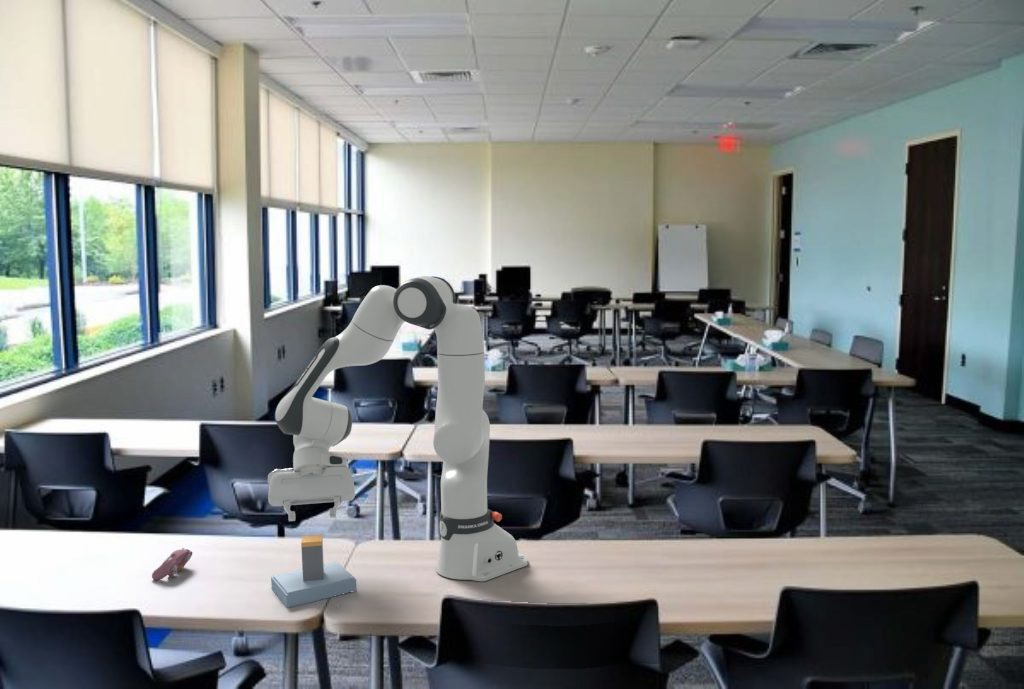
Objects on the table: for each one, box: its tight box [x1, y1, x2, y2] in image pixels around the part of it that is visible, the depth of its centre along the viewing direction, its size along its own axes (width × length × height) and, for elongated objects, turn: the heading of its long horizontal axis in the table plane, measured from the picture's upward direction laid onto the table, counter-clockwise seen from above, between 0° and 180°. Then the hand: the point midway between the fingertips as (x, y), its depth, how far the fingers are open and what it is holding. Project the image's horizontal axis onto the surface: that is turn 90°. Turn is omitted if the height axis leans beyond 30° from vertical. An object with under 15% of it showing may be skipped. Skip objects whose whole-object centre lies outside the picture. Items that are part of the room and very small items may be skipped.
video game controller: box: [151, 547, 193, 581], centre depth 201 cm, size 10×5×7 cm, turn 170°
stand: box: [270, 561, 358, 609], centre depth 190 cm, size 16×12×3 cm
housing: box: [300, 534, 324, 581], centre depth 190 cm, size 4×4×9 cm
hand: (312, 518), depth 196 cm, fingers open, 8 cm apart
